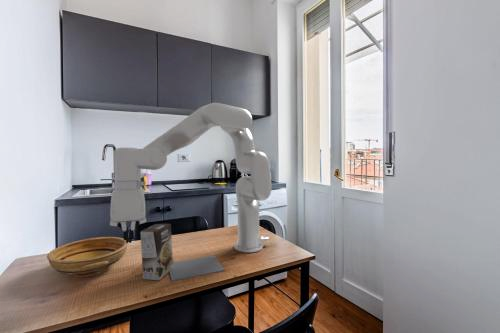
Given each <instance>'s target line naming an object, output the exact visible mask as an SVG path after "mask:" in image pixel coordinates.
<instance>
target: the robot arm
mask: <svg viewBox="0 0 500 333" xmlns="http://www.w3.org/2000/svg"><path fill="white" fill-rule="evenodd" d="M252 124H253V116H252V115H251V113H250V111H248V110H247V109H245V108H242V107H239V106H233V105H230V104H225V103H222V102H211V103H208V104H205V105H203V106H201V107H199V108H197V109H196V110H195V111H193V112H192V113H191V114H190V115H188V116H187V117H185V118H184V119H182V120H181V121H180V122H178V123H177V124H176V125H174V126H172V127H171V128H169V129H168V130H167V131H165V132H164V133H163V134H161V135H160V136H158V137H157V138H155V139H154V140H152V141H151V142H150V143H148V144H147V145H146V146H144V147H142V148H136V147H117V148H116V149H114V155H113V156H114V190H112V193H111V198H110V209H109V210H110V215H109V216H110V222H109V226H111V227H118V228H119V229H121V231H122V232H123V239H124V240H126V243H128V244H129V243H130V244H132V241H133V240H135V229H136V228H137V227H138V226H139V225H141V224H145V223H147V218H146V197H145V191H144V188H142V187H143V186H145V187H146V181H143V180H142V177H141V174H142V173H141V171H142V170H149V171H157V170H160V169H162V168H164V167H165V166H166V164H167V161H168V156H169V155H170V154H172V153H174V152H176V151H178V150H181V149H184V148H187V147H188V146H189V145H191V144H192V143H194V142H195V141H196V140H198V139H199V138H200V137H201V136H203V135H204V134H205V133H206V132H208V131H209V130H211V129H212V128H215V127H220V129H221V131H224V133H226V134H228V135H229V136H230V138H231V139H232V142H233V146H234V155H235V164H236V169H237V170H238V172H240V173H242V174H249V176H248V175H245V176H242V177H240V178H238V179H237V181H236V182H235V195H236V199H237V202H236V204H237V241H236V243H234V245H233V246H234V249H235V251H238V252H241V253H256V252H260V251H261V250H262V249H263V248H264V245H263V243H264V242H266V243H267V242H270V237H269V236H266V237H265V236H260V205H259V202H263V201H266V200H267V199H268V198H270V196H271V193H272V174H271V163H270V160H269V157H268V156H267V155H266V154H265V152H262V151H259V150H257V151H256V150H255V148H256V147H255V143H254V137H253V134H252V132H251V131H250V130H249V128H250V127H252ZM128 222H131V224H130V226H129V228H128V225H127V223H128Z"/></svg>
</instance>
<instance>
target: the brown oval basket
mask: <svg viewBox="0 0 500 333" xmlns="http://www.w3.org/2000/svg"><path fill="white" fill-rule="evenodd" d="M128 245H129V242H128V243H126V240H124V237H118V236H117V237H116V236H100V237H98V236H97V237H91V238H85V239H80V240H76V241H72V242H70V243H66V244H63V245H61V246H60V245H59V246H58V247H56V248H53V249H52V250H51V251H49V252H48V253H47V255H46V259H47V260H48V263H49V266H50V267H51V268H52V269H53V270H54V271H56V272H58V273H60V274H61V273H62V274H66V275H72V276H74V277H82V278H84V277H90V276H95V275H98V274H100V273H103V272H104V271H106V270H107V269H108V268H109V267H110V266H112V265H114V264H116V263H117V262H119V261H120V260H121V259H122V258H123V257H124V255H126V254H125V253H126V251H127V249H128Z"/></svg>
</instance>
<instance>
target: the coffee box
mask: <svg viewBox="0 0 500 333" xmlns="http://www.w3.org/2000/svg"><path fill="white" fill-rule="evenodd" d="M171 225H172V223H155V224H153V225H151V226H149V227H147V228H144V229H142V230H141V231H140V233H139V234H140V244H141V245H140V246H141V248H140V249H141V262H142V264H141V265H142V278H143V280H152V281H160V280H162V279H163V278H164V277H165V276H166V275H167V274H168V273H169V271H170V270H171V269H173V262H174V255H173V241H172V240H173V238H172V226H171Z"/></svg>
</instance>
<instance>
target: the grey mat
mask: <svg viewBox="0 0 500 333" xmlns="http://www.w3.org/2000/svg"><path fill="white" fill-rule="evenodd" d="M220 272H225V268H224V266H223V265H222V264H221V263H220V261H219V260H218V259H217V258H216V256H215V255H209V256H208V255H207V256H202V257H196V258H190V259H185V260H179V261H173V269H171V270H170V271H169V272H168V273H169V276H170V279H171V282H175V281H179V280H180V281H181V280H185V279H190V278H191V279H192V278H195V277H196V278H197V277H200V276H206V275H209V274H210V275H211V274H216V273H220Z"/></svg>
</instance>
